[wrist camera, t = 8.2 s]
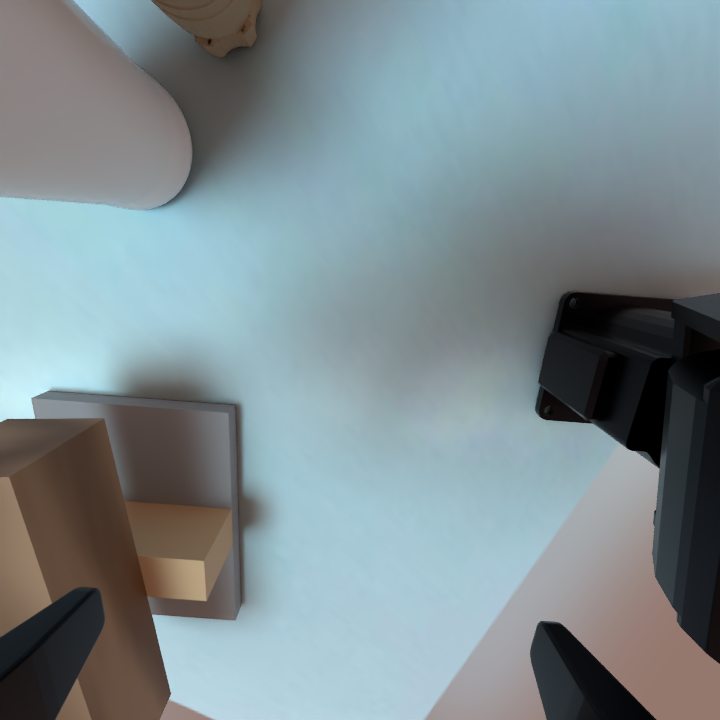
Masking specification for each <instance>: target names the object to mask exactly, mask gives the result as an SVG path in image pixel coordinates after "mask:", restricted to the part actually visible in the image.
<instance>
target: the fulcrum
mask: <svg viewBox="0 0 720 720" xmlns="http://www.w3.org/2000/svg"><path fill="white" fill-rule="evenodd" d="M31 399H32V404H33V409H34V414H35V419H70V418H104V419H105V423H106V427H107V431H108V436H109V440H110V444H111V448H112V452H113V456H114V460H115V465H116V469H117V473H118V477H119V481H120V485H121V489H122V494H123V498H124V502H125V506H126V510H127V514H128V518H129V523H130V527H131V531H132V535H133V539H134V543H135V547H136V552H137V556H138V560H139V564H140V568H141V572H142V576H143V581H144V585H145V589H146V593H147V597H148V601H149V605H150V610H151V614H154V615H168V616H182V617H195V618H209V619H223V620H236V617H237V615H238V612H239V609H240V606H241V591H240V555H239V518H238V481H237V444H236V408H235V405H227V404H214V403H200V402H187V401H173V400H160V399H147V398H133V397H120V396H107V395H93V394H80V393H67V392H53V391H47V392H45V393H43V394H40V395H38V396H36V397H33V398H31Z"/></svg>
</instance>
